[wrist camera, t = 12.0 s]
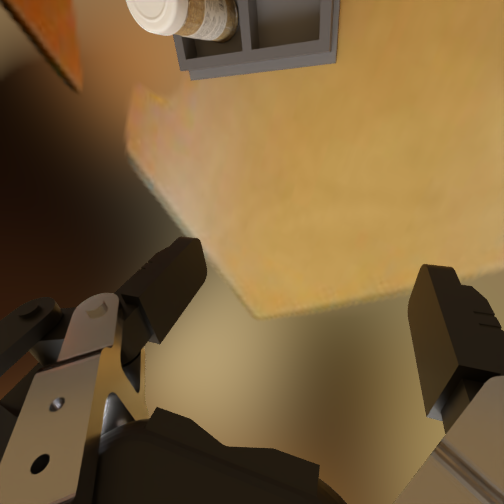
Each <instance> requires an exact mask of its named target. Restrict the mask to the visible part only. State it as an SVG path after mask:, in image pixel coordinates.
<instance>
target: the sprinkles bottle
mask: <svg viewBox="0 0 504 504" xmlns="http://www.w3.org/2000/svg"><path fill="white" fill-rule="evenodd" d="M126 3H127V6H128V8H129V10H130V13H131V14H132V16H133V18H134V19H135V21H137V23H138V24H139V25H140V26H141V27H142V28H143V29H145V30H146V31H148V32H150V33H154V34H159V35H166V36H167V35H173V34H176V35H180V36H183V37H189V38H195V39H201V40H212V41H214V42H217V43H224V42H226V41H228V40H229V39H231V38H232V37H233V35H234V34H235V32H236V29H237V25H238V10H237V6H236V4H235V1H234V0H126Z"/></svg>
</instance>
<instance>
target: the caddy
mask: <svg viewBox="0 0 504 504" xmlns="http://www.w3.org/2000/svg"><path fill="white" fill-rule="evenodd" d="M234 1H235V4H236V6H237V10H238V25H237V29H236V32H235V34H234V35H233V37H232V38H231V39H229V40H228V41H226V42H224V43H217V42H214V41H212V40H201V39H195V38H189V37H183V36H180V35H176V34H173V37H174V42H175V47H176V51H177V57H178V62H179V66H180V70H181V71H189V73H190V78H191V80H200V79H208V78H216V77H224V76H233V75H241V74H249V73H258V72H266V71H274V70H283V69H291V68H299V67H307V66H316V65H324V64H332V63H336V56H337V41H338V26H339V11H340V0H234Z"/></svg>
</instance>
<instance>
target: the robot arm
mask: <svg viewBox="0 0 504 504" xmlns="http://www.w3.org/2000/svg"><path fill="white" fill-rule="evenodd" d="M206 276H207V267H206V262H205V258H204V254H203V249H202V245H201V242H200V240H199V239H198V238H189V237H179V238H178V239H176V240H175V241H174V242H173V243H172V244H171V245H170V246H169V247H167V248H165V249H164V250H162V251H160V252H158V253H156V254H155V255H154V256H153V257H152V258H151V259H150V260H149V261H148V263H146V264H145V265H144V266H143V267H142V268H141V269H140V270H138V271H137V272H136V273H135V274H134V275H133V276H132V277H131V278H130V279H129V280H128V281H126V282H125V283H124V284H123V285H122V286H121V287H120V288H119V289H118V290H117V291H116V292H115V293H114V294H112V293H102V294H98V295H95V296H93V297H90V298H88V299H87V300H85V301H84V302H82V303H81V304H80V305H79V306H78V307H75V308H63V309H60V308H59V306H58V305H57V303H56V302H55V301H54V299H52V298H49V297H43V298H38V299H34V300H31V301H29V302H27V303H25V304H23V305H21V306H19V307H18V308H17V309H15V310H14V311H12V312H11V313H10V314H9V315H7V316H6V317H5V318H3V319H2V320H1V321H0V377H1V376H2V375H3V374H4V373H5V372H6V371H7V370H8V369H9V368H10V367H11V366H12V365H14V364H15V363H16V362H17V361H18V360H19V359H20V358H21V357H22V356H23V355H24V354H26V352H28V351H29V352H30V353H31V354H32V355H33V356H34V357H35V358H36V359H37V360H38V362H39V363H38V364H37V365H36V366H35V367H34V368H33V369H32V370H31V371H30V372H29V373H28V374H27V375H26V376H25V377H24V378H23V379H22V380H21V381H20V382H19V383H18V384H17V385H16V386H15V387H14V388H13V389H12V390H11V391H10V392H9V393H8V394H6V395H5V396H4V398H2V399H1V400H0V504H347V503H346V502H345V501H344V500H343V499H342V498H341V496H339V494H337V493H336V492H335V491H334V490H333V489H332V488H331V487H330V486H329V485H327V484H326V483H325V482H323V481H322V480H321V479H319V478H318V477H319V466H320V465H318V464H315V463H312V462H309V461H306V460H304V459H301V458H298V457H295V456H292V455H290V454H287V453H284V452H281V451H279V450H276V449H271V448H247V447H228V446H225V445H223V444H221V443H220V442H219V441H218V440H216V439H215V438H214V437H213V436H211V435H210V434H209V433H208V432H206V431H205V430H204V429H203V428H201V427H200V426H198V424H196V423H195V422H194V421H193V420H191V419H189V418H186V417H183V416H181V415H178V414H175V413H172V412H169V411H167V410H164V409H161V408H158V407H157V408H156V409H155V411H154V413H153V414H152V416H151V418H149V413H148V409H147V406H146V401H145V358H146V353H145V349H144V346H145V344H146V343H147V342H148V341H149V342H153V343H157V344H161V342H162V341H163V339H164V338H165V337H166V335H167V334H168V332H169V331H170V330H171V328H172V327H173V325H174V324H175V323H176V321H177V320H178V318H179V317H180V315H181V314H182V312H183V311H184V310H185V309H186V307H187V306H188V304H189V303H190V302H191V300H192V299H193V297H194V296H195V294H196V293H197V292H198V290H199V289H200V287H201V286H202V285H203V283H204V282H205V279H206ZM494 315H495V314H494V312H493V310H492V308H491V306H490V305H489V303H488V301H487V299H485V298H484V297H483V296H482V295H481V294H480V293H479V292H478V291H476V290H475V289H474V288H473V287H472V286H466V285H461V283H460V281H459V279H458V277H457V274H456V272H455V270H454V269H453V268H452V267H446V266H437V265H428V264H423V265H422V266H421V268H420V271H419V273H418V276H417V279H416V282H415V285H414V288H413V291H412V293H411V296H410V299H409V304H408V320H409V325H410V330H411V336H412V340H413V346H414V352H415V357H416V363H417V368H418V373H419V379H420V384H421V390H422V395H423V400H424V406H425V411H426V416H427V417H429V418H433V419H436V420H440V421H443V424H444V429H445V434H446V435H445V436H444V437H443V439H442V440H441V441H440V443H439V444H438V445H437V447H436V448H435V449H434V451H433V452H432V453H431V454H430V456H429V457H428V458H427V460H426V461H425V462H424V464H423V465H422V466H421V468H420V469H419V470H418V471H417V473H416V474H415V475H414V477H413V478H412V479H411V481H410V482H409V483H408V485H407V486H406V487H405V489H404V490H403V491H402V492H401V494H400V495H399V496H398V498H397V499H396V500H395V502H394V503H393V504H504V331H503V330H501V325H500V323H499V321H498V320H497V318H496V317H494Z"/></svg>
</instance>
